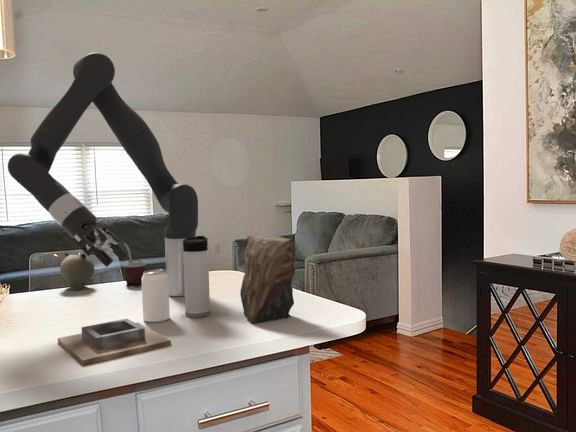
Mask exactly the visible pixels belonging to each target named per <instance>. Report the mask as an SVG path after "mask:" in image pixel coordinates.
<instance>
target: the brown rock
mask: <svg viewBox="0 0 576 432" xmlns="http://www.w3.org/2000/svg"><path fill="white" fill-rule="evenodd" d="M246 240H247V244H246V248H245V252H244V255H243V260H242V261H243V270H244V271H243V272H244V274H243V278H242V283H241V287H240V294H239V295H240V300H241V305H242V309H243V315H244V317H245V318H246V321H247V322H249V324H250V325H255V324H261V323H267V321H268V322H272V321H271V320H273V321H277V320H284V319H283V318H285V319H288V317H289V318H291V317H290V311H291V309H292V307H293V306H294V304H295V301H294V294H293V291H294V290H293V286H292V284H293V279H294V275H295V274H296V270H295V266H294V264H295V261H294V259H295V258H294V254H293V242H294V239H293V238H292V237H290V238H287V237H284V236H282V235H281V236H280V235H277V236H276V235H275V236H271V237H270V236H258V235H250V234H249V235H247V237H246Z"/></svg>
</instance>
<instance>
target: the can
mask: <svg viewBox="0 0 576 432" xmlns="http://www.w3.org/2000/svg"><path fill="white" fill-rule="evenodd" d="M141 299H142V302H141V303H142V318H143V321H144V322H146V323H154V324H155V323H162V322H166V321H168V320H169V319H170V317H171V316H170V314H171V313H170V295H169V283H168V276H167V274H166V269H152V270H147V271H145V272H143V277H142V285H141Z"/></svg>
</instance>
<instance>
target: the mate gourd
mask: <svg viewBox="0 0 576 432" xmlns="http://www.w3.org/2000/svg"><path fill="white" fill-rule="evenodd" d="M123 245H124V246H125V248H126V252H128V253H127V254H128V257H129V258H128V259H129V260H127V261H126V263H125V264H124V278H125V281H126V284H125V285H126V287H132V286H134V287H135V288H139V286H142V277H143V272H145V271H148V270H147V265H146V262H145V261H144V260H143V259H132V254H131V249H130V247H129V246H128V244H127V243H126V242H123Z"/></svg>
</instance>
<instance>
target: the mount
mask: <svg viewBox="0 0 576 432" xmlns="http://www.w3.org/2000/svg"><path fill="white" fill-rule="evenodd" d="M57 343H58V344H59V346H61V347H62V348H63V349H64V350H65V351H66V352H67V353H69V354H70V356H72V357H73V358H74V359H75V360H76V361H77V362H78V363H80V365H82V366H87V365H91V364H95V363H96V364H97V363H99V362H105V361H108V360H109V361H110V360H113V359H116V358H122V357H125V356H126V357H127V356H128V355H129V356H130V355H133V354H139V353H142V352H147V351H152V350H154V349H160V348H163V347H168V346H169V347H170V346H172V340H171V339H169V338H167V337H165V336H164V335H162V334H160V333H158V332H156V331H154V330H153V329H151V328H149V327H148V326H145V325H144V324H142V323H139V322H134V321H132V320H130V319H129V318H122V319H118V320H113V321H108V322H101V323H96V324H92V325H86V326H82V327H81V333H77V334H73V335H66V336H61V337H57Z"/></svg>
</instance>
